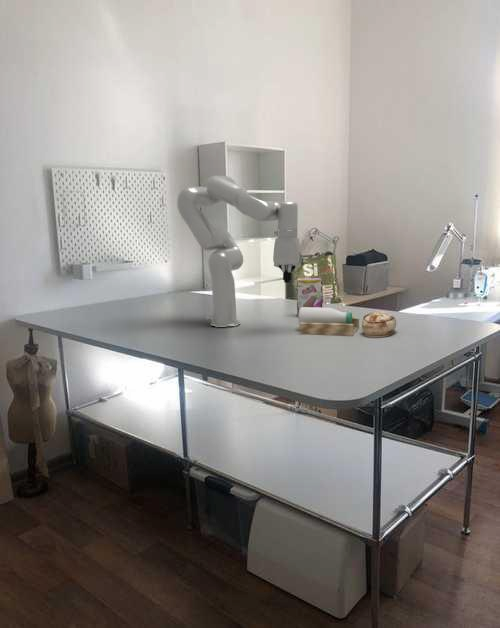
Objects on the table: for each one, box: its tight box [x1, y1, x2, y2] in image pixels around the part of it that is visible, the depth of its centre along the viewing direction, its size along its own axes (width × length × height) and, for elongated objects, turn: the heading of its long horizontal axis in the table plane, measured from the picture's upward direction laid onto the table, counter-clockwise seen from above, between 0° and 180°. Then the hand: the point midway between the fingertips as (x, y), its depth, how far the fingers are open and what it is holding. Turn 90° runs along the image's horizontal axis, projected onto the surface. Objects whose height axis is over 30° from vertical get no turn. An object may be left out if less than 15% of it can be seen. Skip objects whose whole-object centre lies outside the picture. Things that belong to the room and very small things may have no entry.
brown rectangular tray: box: [298, 317, 360, 337], centre depth 205 cm, size 20×14×4 cm
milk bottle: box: [297, 307, 353, 324], centre depth 207 cm, size 8×8×20 cm
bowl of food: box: [361, 310, 397, 338], centre depth 198 cm, size 13×15×8 cm
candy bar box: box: [296, 278, 323, 317], centre depth 236 cm, size 11×5×16 cm, turn 84°
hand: (287, 282), depth 208 cm, fingers closed
